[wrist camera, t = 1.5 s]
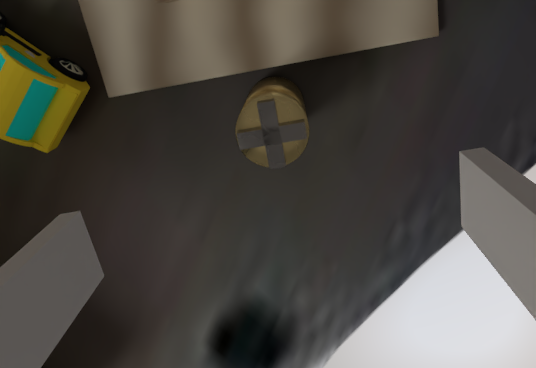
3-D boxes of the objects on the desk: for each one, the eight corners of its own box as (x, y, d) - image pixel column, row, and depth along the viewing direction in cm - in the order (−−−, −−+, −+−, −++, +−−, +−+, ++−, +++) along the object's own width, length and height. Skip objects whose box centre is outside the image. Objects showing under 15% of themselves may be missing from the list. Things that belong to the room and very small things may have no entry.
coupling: (252, 137, 35) (242, 177, 26) (241, 82, 33) (226, 105, 25) (308, 128, 34) (315, 165, 26) (299, 71, 33) (303, 91, 24)
